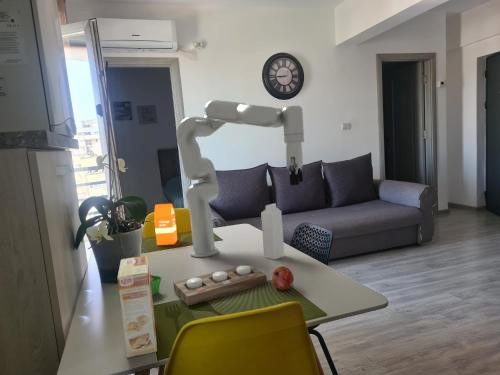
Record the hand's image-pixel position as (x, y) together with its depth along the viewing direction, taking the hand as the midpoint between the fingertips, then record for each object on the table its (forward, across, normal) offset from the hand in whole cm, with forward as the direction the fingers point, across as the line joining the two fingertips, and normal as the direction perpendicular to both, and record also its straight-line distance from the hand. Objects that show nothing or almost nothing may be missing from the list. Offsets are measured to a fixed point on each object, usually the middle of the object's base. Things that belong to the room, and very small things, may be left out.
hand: (296, 183), depth 139 cm
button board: (+30, +31, -22) cm, 49 cm away
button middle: (+28, +31, -22) cm, 47 cm away
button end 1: (+28, +37, -29) cm, 55 cm away
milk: (+31, -2, -12) cm, 33 cm away
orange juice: (+30, -20, -72) cm, 81 cm away
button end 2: (+28, +24, -16) cm, 40 cm away
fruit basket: (+31, +41, -46) cm, 69 cm away
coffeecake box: (+31, +65, -30) cm, 78 cm away
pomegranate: (+31, +29, -1) cm, 42 cm away
